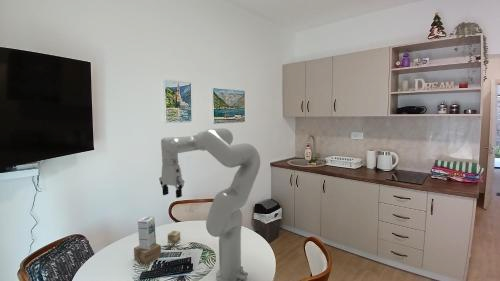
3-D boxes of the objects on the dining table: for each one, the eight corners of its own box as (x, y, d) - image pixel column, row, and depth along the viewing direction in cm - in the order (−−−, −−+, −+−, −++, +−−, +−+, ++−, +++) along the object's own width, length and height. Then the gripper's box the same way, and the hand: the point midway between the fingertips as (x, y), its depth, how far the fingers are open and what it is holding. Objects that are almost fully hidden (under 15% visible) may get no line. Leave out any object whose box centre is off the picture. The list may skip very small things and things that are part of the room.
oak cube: (180, 239, 150) (180, 231, 150) (175, 244, 146) (175, 235, 145) (172, 239, 152) (172, 230, 151) (167, 243, 147) (167, 234, 146)
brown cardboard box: (161, 256, 132) (160, 245, 132) (145, 265, 125) (144, 253, 124) (150, 251, 137) (149, 240, 137) (134, 259, 130) (133, 247, 129)
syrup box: (149, 250, 127) (148, 221, 126) (138, 248, 129) (137, 220, 127) (156, 244, 133) (154, 216, 131) (146, 243, 134) (144, 215, 133)
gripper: (188, 162, 128) (190, 196, 130) (164, 160, 137) (166, 192, 139) (176, 164, 122) (178, 200, 123) (152, 162, 131) (154, 195, 133)
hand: (172, 195), depth 131 cm, fingers open, 9 cm apart
